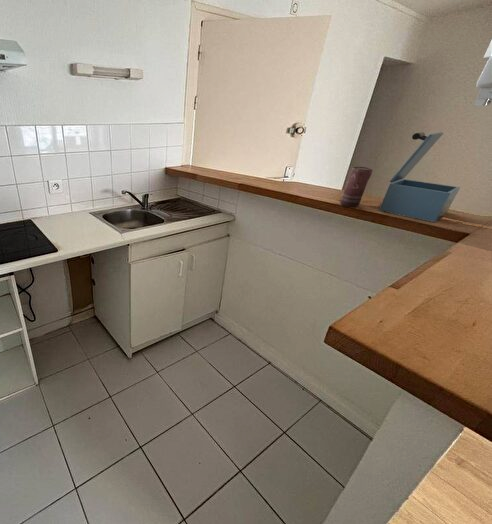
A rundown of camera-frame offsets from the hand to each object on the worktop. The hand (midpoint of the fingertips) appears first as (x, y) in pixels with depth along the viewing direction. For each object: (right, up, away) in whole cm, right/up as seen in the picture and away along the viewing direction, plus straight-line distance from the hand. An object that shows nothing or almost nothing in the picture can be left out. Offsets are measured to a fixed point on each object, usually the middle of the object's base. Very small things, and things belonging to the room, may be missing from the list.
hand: (482, 105), depth 85 cm
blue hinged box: (-6, -30, +16) cm, 34 cm away
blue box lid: (-9, -12, +11) cm, 19 cm away
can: (-22, -25, +25) cm, 42 cm away
